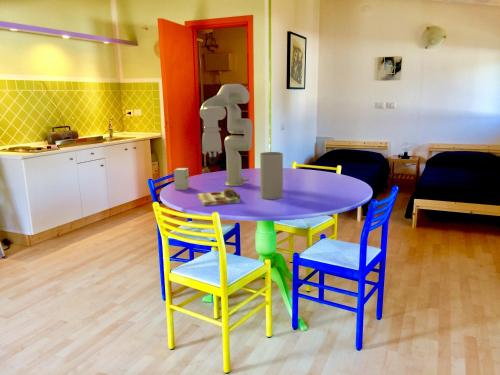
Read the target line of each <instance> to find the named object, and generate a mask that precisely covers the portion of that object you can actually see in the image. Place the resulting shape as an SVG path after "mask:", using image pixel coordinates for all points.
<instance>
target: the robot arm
mask: <svg viewBox="0 0 500 375" xmlns="http://www.w3.org/2000/svg"><path fill="white" fill-rule="evenodd" d="M248 90H249V89H247V88H246V87H245V86H244V85H243V84H241V83H227V84H223V85H221V87H220V89H219V91H218V92H217V94H216V95H214V96H213V97H210V98H208V99H206V100H205V101H204V102H203V103H202V105H201V107H200V109H199V116H200V119H202V120H203V131H204V132H203V133H202V138H201V152H202V154H203V155H207V156H208V157H209V163H210V165H215V163H216V157H217V156H218V154H219V155H220V154H221V153H223V151H222V140H221V133H220V131H222V129H221V127H219V121H221V120H223V119H225V117H226V115H227V121H226V122H227V125H226V126H227V127H226V128H227V132H228V133H230V134H234V135H227V136H226V137H225V139H224V143H223V144H224V148H225V155H226V158H225V159H226V160H225V161H226V181H225V182H224V186H228V187H239V186H243V185H245V182H248V181H250V178H249V177H243V176H242V156H241V154H240V152H243V151H244V152H247V151H250V150H251V149H252V146H253V144H252V142H253V123H252V120H251V119H249V118H242V110H241V108H240V106H238V104H239V105H240V104H242V105H243V104H248V103H249V101H250V97H251V96H250V92H249V91H248ZM226 110H227V111H226ZM235 134H241V135H235ZM242 134H243V135H242ZM239 151H240V152H239ZM212 152H213V153H212Z"/></svg>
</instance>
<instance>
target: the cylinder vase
mask: <svg viewBox="0 0 500 375" xmlns="http://www.w3.org/2000/svg"><path fill="white" fill-rule="evenodd" d="M259 156H260V157H259V159H260V160H259V161H260V162H259V164H260V165H259V166H260V168H259V170H260V172H259V173H260V197H261V198H262V199H264V200H272V201H273V200H274V201H275V200H279V199H282V198H283V196H284V189H283V187H284V186H283V185H284V180H283V179H284V173H283V172H284V169H283V168H284V153H283V152H280V151H279V152H278V151H265V152H261V153H259Z"/></svg>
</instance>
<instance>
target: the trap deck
mask: <svg viewBox="0 0 500 375" xmlns="http://www.w3.org/2000/svg"><path fill="white" fill-rule="evenodd" d="M230 188H231V189H232V190H233V196H230V197H225V196H224V190H222V191H214V192H213V191H212V192H202V193H197V198H198V199H199V201H200V202H201V204H202V205H203V207H204V206H205V207H207V206H216V205H225V204H227V205H229V204H238V203H241V195H240V193H238V192H237V191H236V190H235V189H234V188H232V187H230Z"/></svg>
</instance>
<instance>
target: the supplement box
mask: <svg viewBox="0 0 500 375" xmlns="http://www.w3.org/2000/svg"><path fill="white" fill-rule="evenodd" d="M189 175H190V174H189V167H177V168H175V169H174V170H173V179H174V180H173V182H174V183H173V184H174V190H178V191H179V190H181V191H186V190H187V189H189V188H190V176H189Z"/></svg>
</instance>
